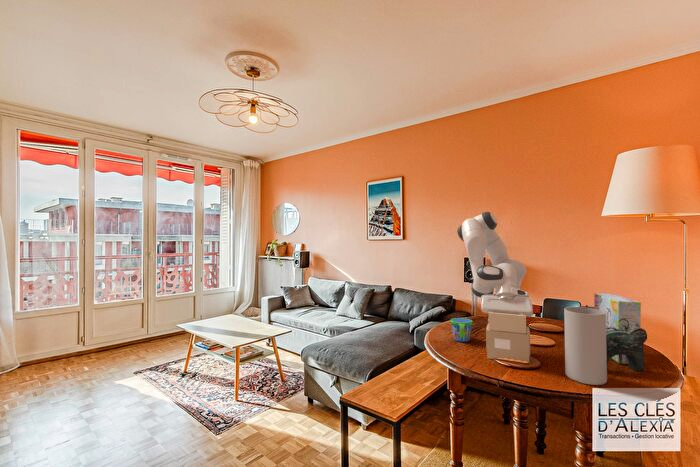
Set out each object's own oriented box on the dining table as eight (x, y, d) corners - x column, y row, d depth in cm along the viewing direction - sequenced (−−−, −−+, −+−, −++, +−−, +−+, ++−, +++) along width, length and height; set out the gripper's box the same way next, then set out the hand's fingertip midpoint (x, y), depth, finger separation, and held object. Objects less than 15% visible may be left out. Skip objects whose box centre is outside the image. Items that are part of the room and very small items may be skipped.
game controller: (638, 366, 132) (637, 316, 132) (653, 373, 126) (652, 320, 126) (589, 367, 132) (588, 317, 132) (601, 374, 125) (601, 321, 125)
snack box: (643, 366, 132) (642, 302, 133) (618, 364, 135) (617, 301, 135) (614, 348, 153) (613, 292, 154) (593, 347, 156) (592, 292, 156)
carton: (488, 347, 157) (488, 322, 157) (529, 352, 149) (528, 326, 149) (486, 358, 143) (485, 330, 143) (530, 364, 135) (530, 335, 136)
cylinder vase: (593, 388, 114) (591, 316, 114) (557, 375, 125) (556, 308, 125) (614, 382, 119) (613, 312, 119) (578, 369, 130) (577, 305, 130)
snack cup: (452, 334, 177) (452, 315, 177) (473, 336, 173) (473, 317, 173) (449, 343, 163) (449, 323, 163) (472, 346, 159) (471, 325, 159)
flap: (488, 312, 140) (488, 312, 139) (525, 315, 133) (525, 316, 133) (489, 328, 143) (489, 329, 143) (526, 332, 137) (526, 333, 136)
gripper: (480, 289, 150) (479, 316, 141) (532, 292, 141) (533, 320, 132) (481, 297, 154) (480, 323, 145) (531, 300, 145) (533, 329, 136)
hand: (506, 322), depth 139 cm, fingers open, 8 cm apart
